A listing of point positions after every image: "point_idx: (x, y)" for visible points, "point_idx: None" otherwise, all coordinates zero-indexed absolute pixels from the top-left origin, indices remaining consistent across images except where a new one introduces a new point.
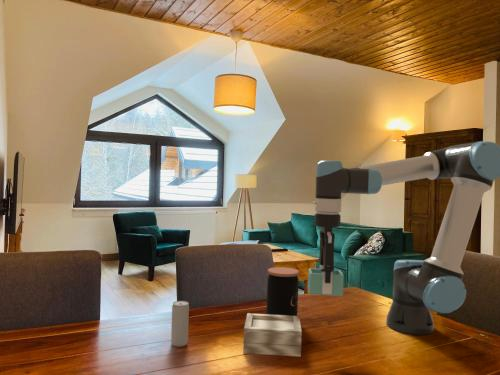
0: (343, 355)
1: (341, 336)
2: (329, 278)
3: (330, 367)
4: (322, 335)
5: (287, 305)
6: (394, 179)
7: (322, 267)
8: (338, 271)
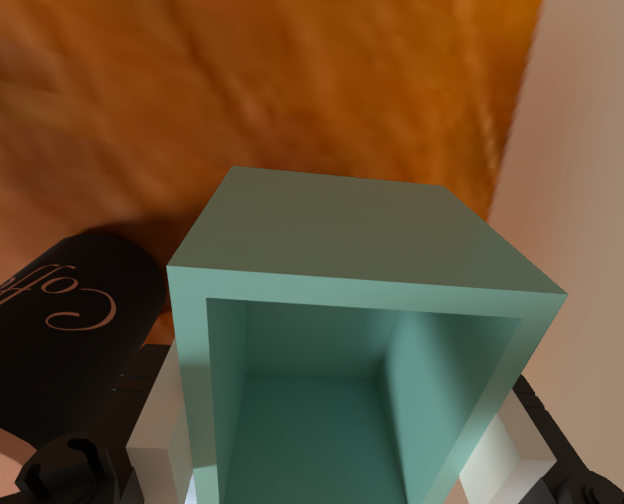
0: (397, 112)
1: (201, 63)
2: (540, 414)
3: (478, 182)
4: (207, 150)
5: (128, 321)
6: None
7: (185, 474)
8: (233, 291)
